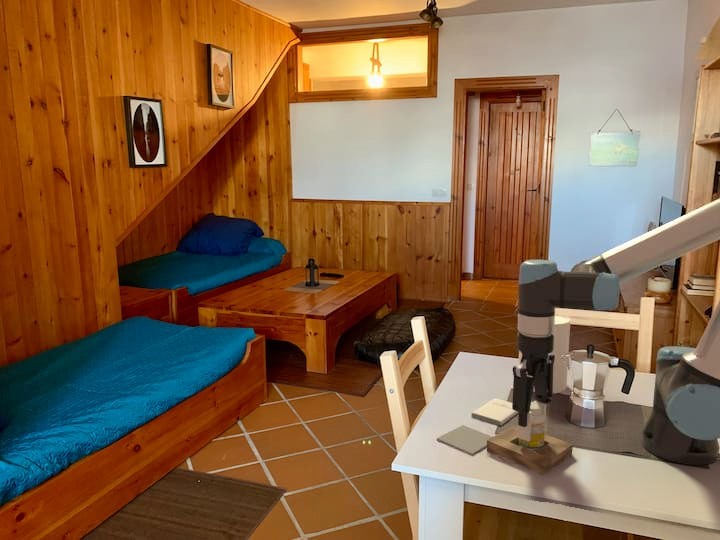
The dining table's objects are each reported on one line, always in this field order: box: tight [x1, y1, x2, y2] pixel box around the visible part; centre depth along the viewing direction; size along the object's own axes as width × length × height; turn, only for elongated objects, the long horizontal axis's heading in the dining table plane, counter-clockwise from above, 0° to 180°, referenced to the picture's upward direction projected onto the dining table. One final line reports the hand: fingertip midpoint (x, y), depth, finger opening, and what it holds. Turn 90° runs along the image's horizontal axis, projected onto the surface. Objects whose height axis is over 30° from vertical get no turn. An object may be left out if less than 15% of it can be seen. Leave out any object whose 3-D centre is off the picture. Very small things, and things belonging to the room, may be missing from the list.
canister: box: [518, 313, 571, 394], centre depth 163 cm, size 14×14×20 cm
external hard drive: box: [471, 398, 519, 426], centre depth 146 cm, size 2×8×12 cm
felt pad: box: [436, 424, 493, 456], centre depth 131 cm, size 10×10×1 cm
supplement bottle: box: [519, 401, 546, 452], centre depth 124 cm, size 5×5×10 cm
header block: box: [486, 423, 574, 475], centre depth 125 cm, size 14×12×2 cm
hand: (531, 434), depth 124 cm, fingers closed on supplement bottle, 5 cm apart
